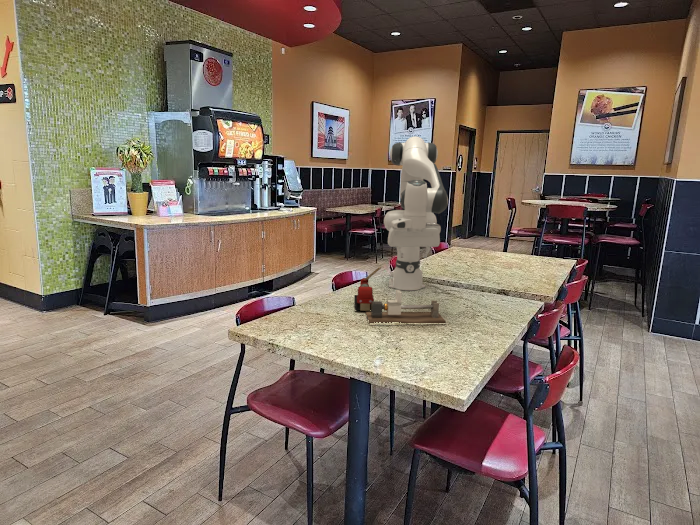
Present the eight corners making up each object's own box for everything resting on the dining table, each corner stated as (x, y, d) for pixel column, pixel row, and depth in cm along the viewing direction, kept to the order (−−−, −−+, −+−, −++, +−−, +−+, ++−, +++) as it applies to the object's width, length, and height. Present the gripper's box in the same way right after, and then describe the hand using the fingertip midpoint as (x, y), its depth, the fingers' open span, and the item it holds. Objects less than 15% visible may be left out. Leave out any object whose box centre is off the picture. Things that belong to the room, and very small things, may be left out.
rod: (370, 315, 185) (371, 301, 184) (435, 314, 187) (436, 301, 186) (372, 318, 181) (372, 304, 180) (437, 317, 183) (438, 303, 182)
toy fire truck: (354, 313, 192) (355, 271, 189) (354, 302, 208) (355, 263, 204) (381, 313, 192) (383, 272, 189) (379, 302, 208) (380, 264, 204)
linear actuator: (365, 315, 189) (366, 297, 187) (437, 315, 192) (438, 297, 190) (369, 325, 177) (370, 306, 176) (445, 325, 180) (446, 306, 178)
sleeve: (386, 311, 185) (387, 289, 183) (398, 311, 186) (399, 289, 184) (388, 314, 181) (389, 292, 179) (400, 314, 182) (401, 292, 180)
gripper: (438, 221, 182) (436, 256, 185) (387, 221, 181) (386, 255, 184) (443, 224, 176) (440, 259, 179) (390, 223, 174) (388, 259, 178)
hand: (412, 257), depth 181 cm, fingers open, 8 cm apart
